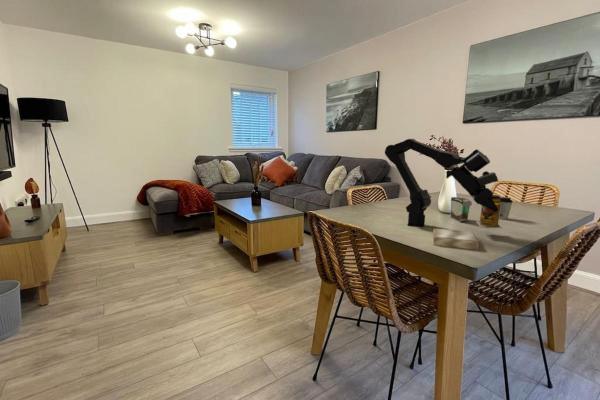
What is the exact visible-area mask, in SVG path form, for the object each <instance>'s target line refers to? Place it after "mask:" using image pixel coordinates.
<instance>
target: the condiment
mask: <svg viewBox="0 0 600 400" xmlns="http://www.w3.org/2000/svg"><path fill="white" fill-rule="evenodd" d="M500 197H501V196H500V195H498V194H497V195H496V194H493V195H492V200H493V202H494V203H495V205H496V206H497V208H498V211H494V210H491V209H489V208H487V207H485V206H482V205H481V210H480V219H479V221H478V220H477V221H475V222H476V223H477V225H478V226H479V227H482V228H493V229H494V228H495V229H503V228H502V226H500V224H499V220H500V219H499V213H500V205H501V204H500V202H499V201H500Z"/></svg>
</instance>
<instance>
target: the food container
mask: <svg viewBox="0 0 600 400" xmlns="http://www.w3.org/2000/svg"><path fill="white" fill-rule="evenodd" d="M472 205H473V204H472V200H471V199H469V198H464V197H459V196H458V197H457V196H455V197H454V196H451V198H450V218H451V219H453V220H455V221H457V222H459V223H467V222H468V217H469V213H470V208H471V206H472Z"/></svg>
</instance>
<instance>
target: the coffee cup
mask: <svg viewBox="0 0 600 400" xmlns="http://www.w3.org/2000/svg"><path fill="white" fill-rule="evenodd" d="M499 202H500V204H501V205H500V213H499V220H502V221H504V220H508V219H509V215H510V212H511V208H512V205H513V200H512V199H511V197H506V196H503V197H502V196H500V201H499Z"/></svg>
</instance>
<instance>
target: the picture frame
mask: <svg viewBox="0 0 600 400" xmlns="http://www.w3.org/2000/svg"><path fill="white" fill-rule="evenodd" d="M432 240H433V242H432V244H433V246H434V245H435V246H440V245H441V247H449V248H459V249H467V250H477V251H479V244H480V242H479V240H478V238H477V236H476V234H475V232H473V231H466V230H465V231H464V230H455V229H443V228H433V231H432Z"/></svg>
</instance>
